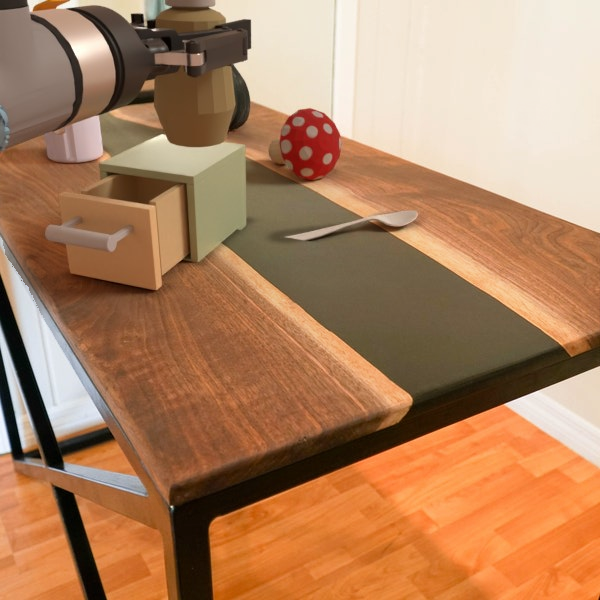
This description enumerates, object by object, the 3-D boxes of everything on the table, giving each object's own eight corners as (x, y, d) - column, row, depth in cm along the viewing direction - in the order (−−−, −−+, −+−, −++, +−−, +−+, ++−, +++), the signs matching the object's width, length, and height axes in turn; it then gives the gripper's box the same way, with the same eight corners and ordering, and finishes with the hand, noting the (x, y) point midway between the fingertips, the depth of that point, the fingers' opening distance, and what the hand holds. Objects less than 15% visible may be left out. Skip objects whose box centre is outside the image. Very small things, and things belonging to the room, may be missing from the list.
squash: (146, 102, 124) (190, 43, 116) (187, 92, 136) (230, 38, 128) (196, 160, 125) (244, 105, 117) (233, 144, 137) (278, 93, 129)
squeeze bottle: (231, 130, 71) (227, -58, 63) (241, 151, 65) (238, -57, 56) (155, 132, 70) (140, -61, 61) (157, 154, 63) (141, -60, 54)
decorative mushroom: (258, 107, 109) (309, 89, 97) (309, 137, 115) (363, 124, 103) (237, 168, 108) (287, 158, 95) (289, 196, 114) (343, 189, 102)
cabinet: (198, 268, 75) (193, 176, 70) (109, 251, 78) (98, 163, 73) (246, 225, 86) (245, 144, 81) (167, 212, 90) (161, 133, 85)
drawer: (131, 312, 64) (121, 227, 60) (40, 292, 67) (25, 210, 63) (210, 245, 78) (207, 172, 74) (133, 231, 81) (125, 161, 77)
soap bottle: (75, 167, 106) (51, 0, 94) (36, 158, 110) (8, -3, 98) (114, 154, 113) (97, -3, 101) (76, 146, 117) (55, -6, 105)
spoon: (424, 227, 88) (425, 215, 87) (281, 250, 80) (282, 237, 79) (407, 216, 91) (408, 205, 90) (269, 237, 83) (269, 225, 82)
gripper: (-22, 104, 52) (135, 62, 71) (198, 131, 47) (304, 78, 66) (-43, 0, 48) (128, -15, 68) (192, 17, 43) (306, -5, 62)
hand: (215, 31), depth 67 cm, fingers closed on squeeze bottle, 6 cm apart
